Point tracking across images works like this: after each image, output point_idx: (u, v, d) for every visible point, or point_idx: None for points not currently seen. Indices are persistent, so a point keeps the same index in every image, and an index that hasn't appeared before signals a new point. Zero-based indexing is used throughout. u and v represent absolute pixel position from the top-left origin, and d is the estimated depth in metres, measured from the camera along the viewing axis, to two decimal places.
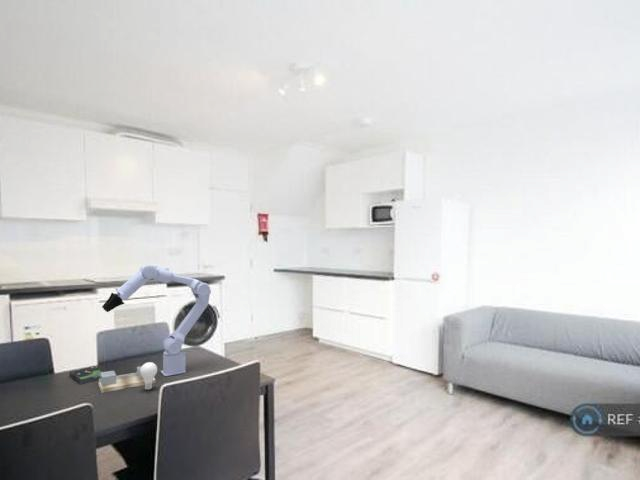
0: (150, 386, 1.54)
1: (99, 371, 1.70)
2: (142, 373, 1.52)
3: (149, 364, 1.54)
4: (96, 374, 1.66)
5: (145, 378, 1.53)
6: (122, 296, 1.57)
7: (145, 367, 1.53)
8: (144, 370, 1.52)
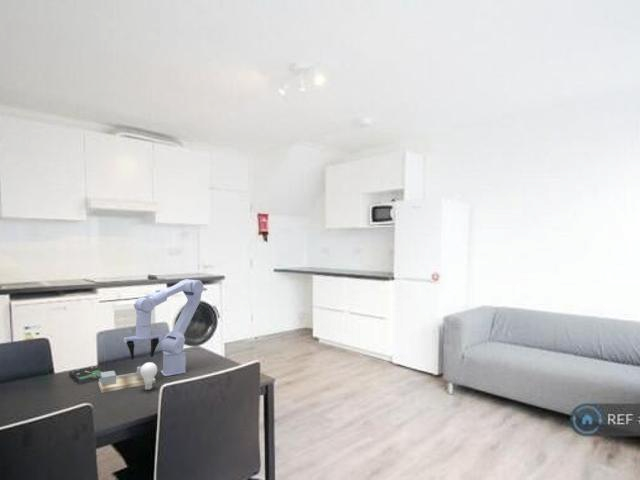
0: (150, 386, 1.54)
1: (99, 371, 1.70)
2: (142, 373, 1.52)
3: (149, 364, 1.54)
4: (95, 374, 1.66)
5: (145, 378, 1.53)
6: (124, 340, 1.60)
7: (145, 367, 1.53)
8: (144, 370, 1.52)
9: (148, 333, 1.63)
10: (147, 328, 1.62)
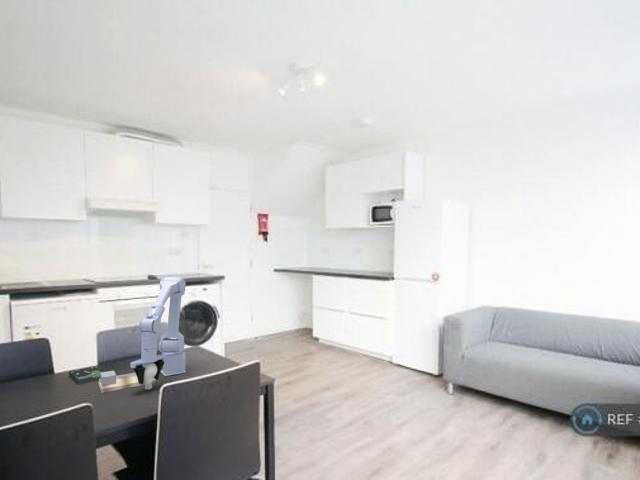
0: (150, 386, 1.54)
1: (98, 371, 1.70)
2: None
3: (149, 364, 1.54)
4: (95, 374, 1.66)
5: (145, 378, 1.53)
6: (131, 365, 1.49)
7: (145, 367, 1.53)
8: None
9: (156, 355, 1.55)
10: (155, 350, 1.55)
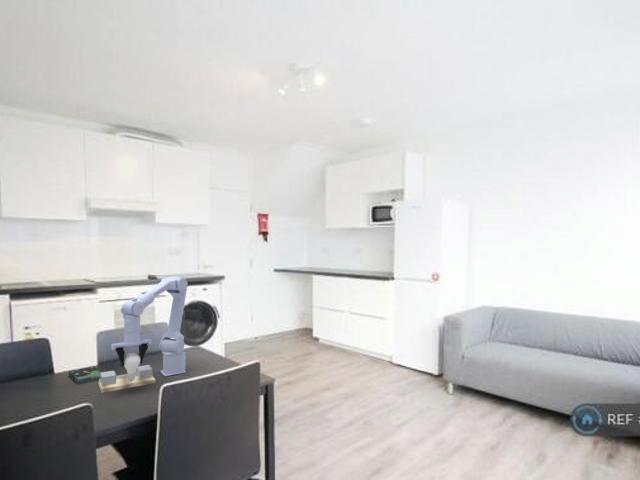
0: (132, 377, 1.52)
1: (97, 371, 1.70)
2: None
3: (131, 354, 1.53)
4: (94, 374, 1.66)
5: (126, 368, 1.52)
6: (111, 347, 1.50)
7: (126, 357, 1.52)
8: (125, 360, 1.51)
9: (138, 338, 1.53)
10: (136, 333, 1.53)
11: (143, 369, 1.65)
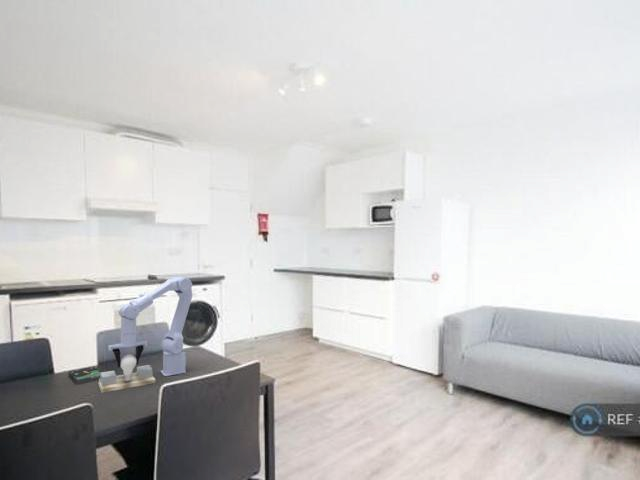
0: (128, 378, 1.58)
1: (97, 371, 1.69)
2: (120, 364, 1.58)
3: (127, 355, 1.59)
4: (93, 374, 1.65)
5: (123, 369, 1.58)
6: (108, 348, 1.57)
7: (123, 358, 1.58)
8: (121, 361, 1.58)
9: (133, 340, 1.60)
10: (132, 335, 1.59)
11: (143, 369, 1.65)
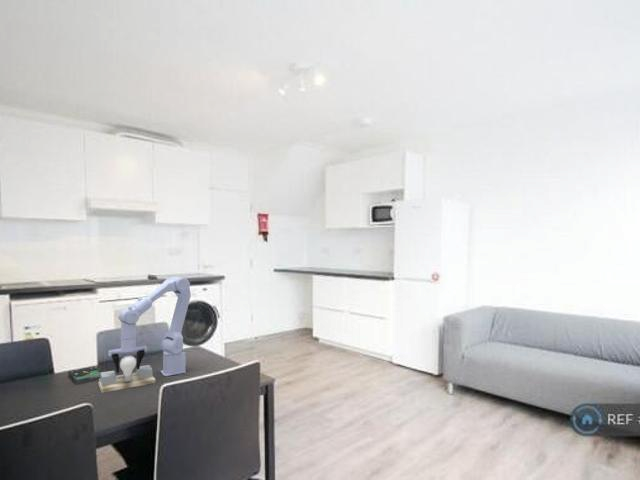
0: (128, 379, 1.58)
1: (96, 372, 1.69)
2: (120, 365, 1.57)
3: (127, 357, 1.58)
4: (93, 375, 1.65)
5: (122, 370, 1.57)
6: (108, 353, 1.57)
7: (122, 359, 1.57)
8: (121, 362, 1.57)
9: (133, 345, 1.60)
10: (132, 340, 1.59)
11: (143, 369, 1.65)
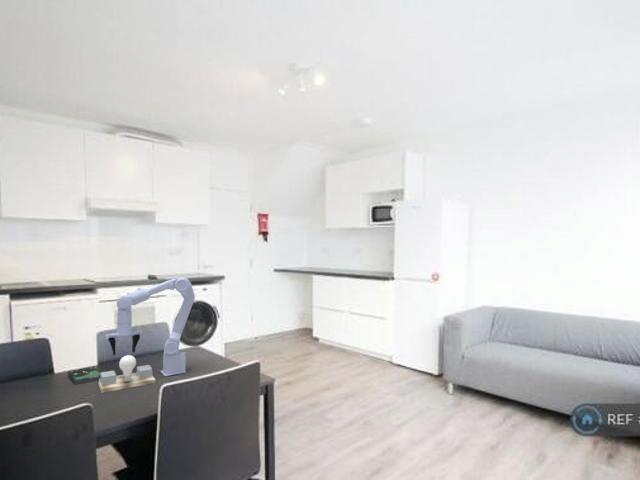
0: (128, 378, 1.58)
1: (96, 372, 1.69)
2: (119, 365, 1.57)
3: (126, 357, 1.58)
4: (92, 375, 1.65)
5: (122, 370, 1.57)
6: (105, 337, 1.66)
7: (122, 359, 1.57)
8: (120, 362, 1.57)
9: (129, 330, 1.69)
10: (128, 325, 1.68)
11: (143, 369, 1.65)
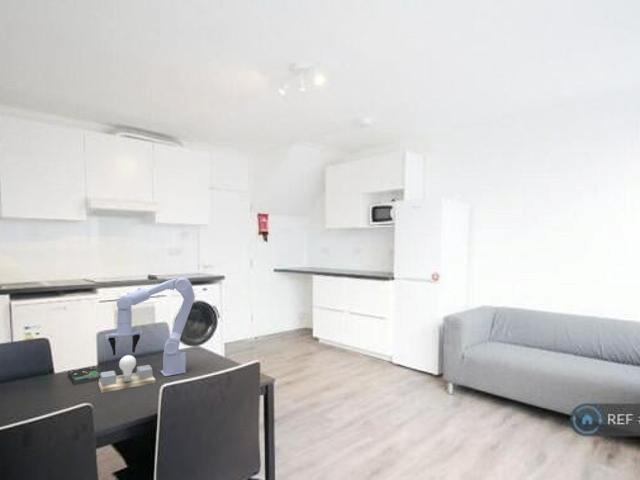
0: (128, 379, 1.58)
1: (96, 372, 1.69)
2: (119, 365, 1.57)
3: (126, 357, 1.58)
4: (91, 375, 1.65)
5: (122, 370, 1.57)
6: (105, 337, 1.66)
7: (122, 359, 1.57)
8: (120, 362, 1.57)
9: (129, 330, 1.69)
10: (128, 325, 1.68)
11: (143, 369, 1.65)
